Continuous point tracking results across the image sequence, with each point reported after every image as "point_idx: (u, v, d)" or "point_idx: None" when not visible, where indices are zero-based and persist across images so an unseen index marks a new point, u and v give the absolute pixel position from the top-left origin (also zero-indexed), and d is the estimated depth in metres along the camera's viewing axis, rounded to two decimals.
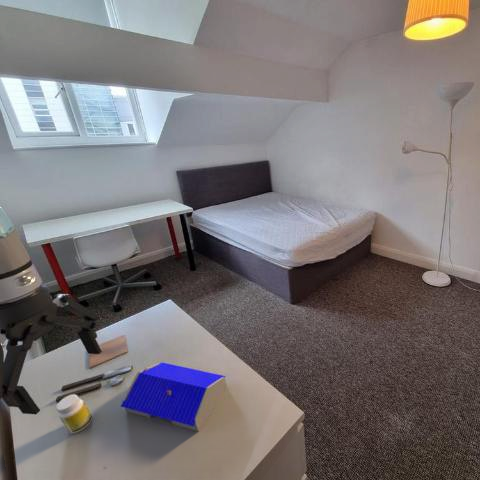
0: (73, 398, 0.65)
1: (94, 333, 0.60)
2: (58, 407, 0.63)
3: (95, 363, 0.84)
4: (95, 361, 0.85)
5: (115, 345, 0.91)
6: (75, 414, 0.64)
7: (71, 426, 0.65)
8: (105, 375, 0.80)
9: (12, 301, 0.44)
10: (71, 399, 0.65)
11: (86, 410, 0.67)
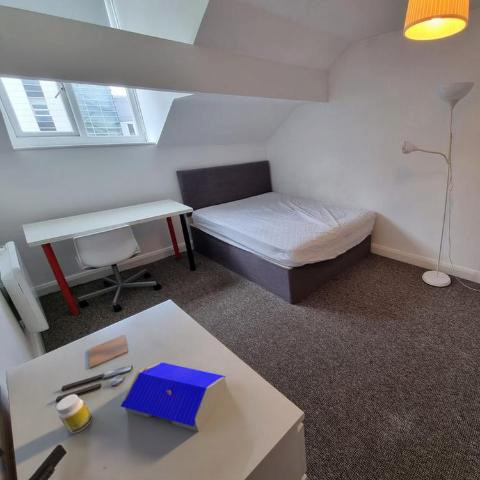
0: (73, 398, 0.65)
1: None
2: (58, 407, 0.63)
3: (95, 363, 0.84)
4: (95, 361, 0.85)
5: (115, 345, 0.91)
6: (75, 414, 0.64)
7: (71, 426, 0.65)
8: (105, 375, 0.80)
9: None
10: (71, 399, 0.65)
11: (86, 410, 0.67)
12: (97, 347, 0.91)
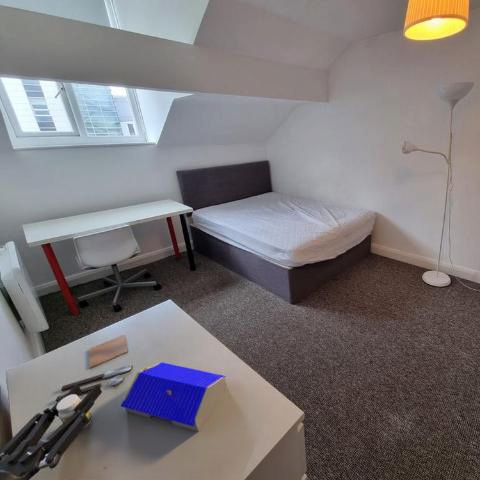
0: (73, 398, 0.65)
1: None
2: (58, 407, 0.63)
3: (95, 363, 0.84)
4: (95, 361, 0.85)
5: (115, 345, 0.91)
6: None
7: None
8: (105, 375, 0.80)
9: None
10: (71, 399, 0.65)
11: None
12: (97, 347, 0.91)
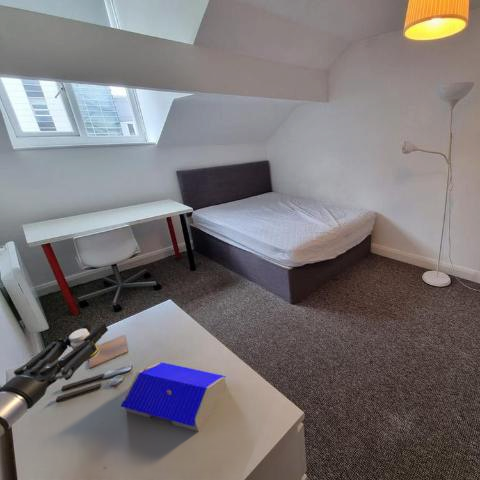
0: (83, 331, 0.75)
1: None
2: (70, 337, 0.73)
3: (95, 363, 0.84)
4: (95, 361, 0.85)
5: (115, 345, 0.91)
6: None
7: None
8: (105, 375, 0.80)
9: None
10: (81, 331, 0.75)
11: None
12: None
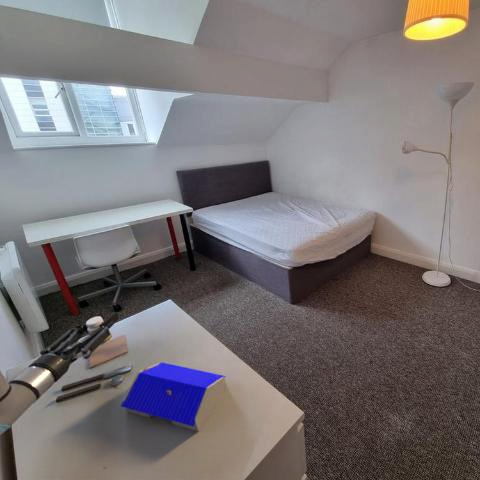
0: (98, 318, 0.85)
1: None
2: (87, 323, 0.83)
3: (95, 363, 0.84)
4: (95, 361, 0.85)
5: (115, 345, 0.91)
6: None
7: None
8: (105, 375, 0.80)
9: None
10: (96, 318, 0.85)
11: None
12: (97, 347, 0.91)
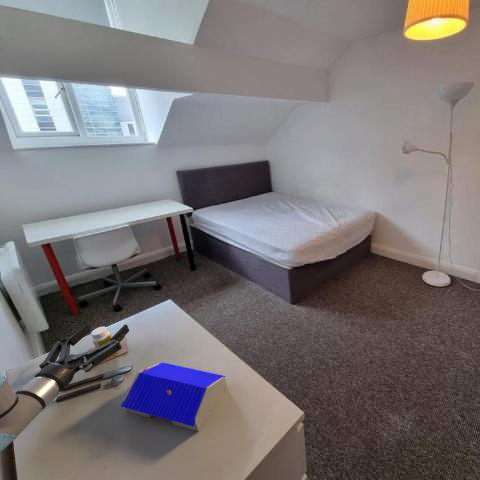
0: (103, 328, 0.87)
1: None
2: (92, 333, 0.85)
3: None
4: None
5: None
6: (105, 340, 0.86)
7: None
8: (105, 375, 0.80)
9: None
10: (101, 329, 0.87)
11: None
12: None
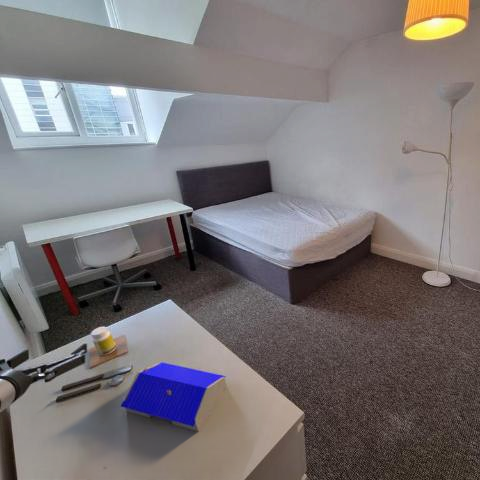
0: (103, 328, 0.87)
1: None
2: (92, 333, 0.85)
3: (95, 363, 0.84)
4: (95, 361, 0.85)
5: None
6: (105, 340, 0.86)
7: (102, 349, 0.86)
8: (105, 375, 0.80)
9: None
10: (101, 329, 0.87)
11: (112, 339, 0.89)
12: None
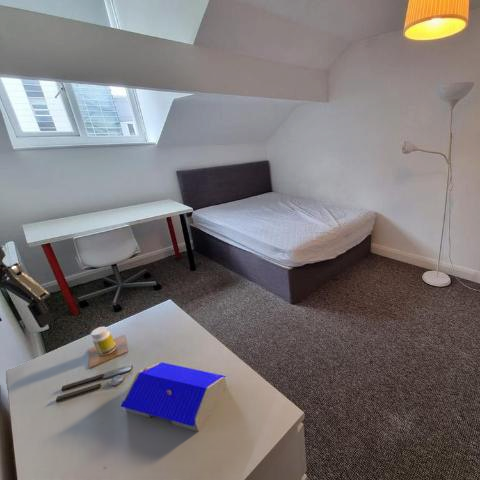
0: (103, 328, 0.87)
1: (39, 310, 0.63)
2: (92, 333, 0.85)
3: (95, 363, 0.84)
4: (95, 361, 0.85)
5: None
6: (105, 340, 0.86)
7: (102, 349, 0.86)
8: (105, 375, 0.80)
9: None
10: (101, 329, 0.87)
11: (112, 339, 0.89)
12: None
